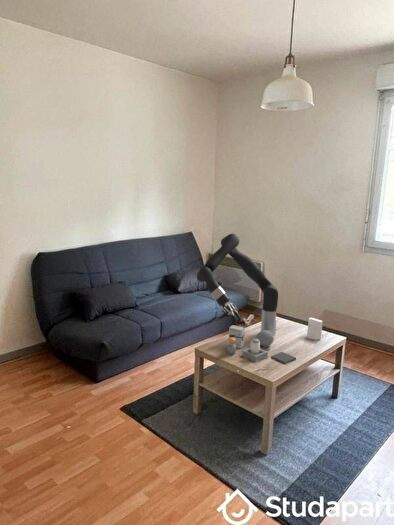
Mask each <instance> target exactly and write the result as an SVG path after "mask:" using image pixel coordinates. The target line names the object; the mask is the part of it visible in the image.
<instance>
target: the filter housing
mask: <svg viewBox="0 0 394 525" xmlns="http://www.w3.org/2000/svg"><path fill="white" fill-rule="evenodd" d="M226 353H227V354H228V355H230V356H234V355H236V353H237V347H236V344H227V349H226ZM268 354H269V352H268V351H266V350H264V349H261V348H260V352H259V354H257V355H254V354H252V353H251V347H248V348H246V349H242V354H241V356H243V357H244V358H247V359H249V360H251V361H253V362H255V363H256V362H258V361H261V360H263V359H266V358H268V356H269V355H268Z"/></svg>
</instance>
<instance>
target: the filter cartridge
mask: <svg viewBox="0 0 394 525" xmlns="http://www.w3.org/2000/svg"><path fill="white" fill-rule="evenodd" d="M250 342H251V343H250V348H251V353H252V354H254V355H257V354H259V352H260V349H261V345H260V340H259V339H257V338H252V339H251V341H250Z"/></svg>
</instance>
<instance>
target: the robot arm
mask: <svg viewBox="0 0 394 525" xmlns="http://www.w3.org/2000/svg"><path fill="white" fill-rule="evenodd" d="M220 240H221V241H220V245H221V246H220V248H218V249H217V250H216V251H215V252H214V253H213V254H212V255H211V256H210V257H209V258H208V259H207V261H206V262H205V264H204V265H203V266H201V267H200V269H199V270H198V271H197V273H196V279H197V280H198V281H199V282H202V283H204V282H205V283H206V289H207V290H208V292H209V293H210V294H211V296H212V297H213V299H214V301H215V302H216V303H217V304H218V306H219V307H222V310H221V311H222V313H223V314H225V316H227V317H228V318H232V320H233V321H234V322H235V323H237V322H238V321H240V320H241V319H242V318H241V316H240V314H239V313H238V311H239V309H238V307H237V305H236V303H235V302H231V301H230V299H231V297H230V296H229V295H228V294H227V292H226V291H225V290H224V288H223V287H221V285H220V284H219V283H218V281H217V280H216V278H215V274H214V273H213V272H214V271H215V270H216V269H217V268H218V266H219V265H221V263H222V262H223V260H225V258H226V257H227V256H228V255H229V256H230V257H231V258H232V259H233V261H235V262H236V264H237V265H238V266H239V267H240V269H242V271H243V273H245V275H247V277H248V278H250V279H251V281H253V282H254V283H255V284H256V285H257V286H258V287H259V289H260V290H261V292H262V293H263V296H262V297H263V300H262V305H261V306H262V308H261V319H260V320H261V323H260V331H262V330H268V331H270V332H271V333H272V335H273V337H274V336H275V335H276V333H277V332H276V331H277V309H278V304H279V292H278V289H277V287H276V286H275V285H274V284H273V283H272V282H271V281H270V280H269V279H268V278H267V277H266V275H265V274H264V272H263V271H262V270H261V268H260V267H259V265H258V264H257V262H255V261H254V260H253V258H251V257H249V256H248V255H246V254H244V253H242V252H241V251H240V250H239V249H238V248H237V247H238V246H239V244H240V238H239V236H238V235H237V234H236V233H229V234H227V235H225V237H223V238H222V239H220Z"/></svg>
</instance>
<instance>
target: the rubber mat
mask: <svg viewBox="0 0 394 525" xmlns="http://www.w3.org/2000/svg"><path fill="white" fill-rule="evenodd" d="M270 358H271V359H273V360H275V361H277V362H280V363H281V364H284V365H286V364H288V363H291V362H294V361H296V360H297V357H295V356H293V355H291V354H290V353H289V354H288V353H287V352H284V351H280V352H277V353H275V354H273V355H271V356H270Z"/></svg>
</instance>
